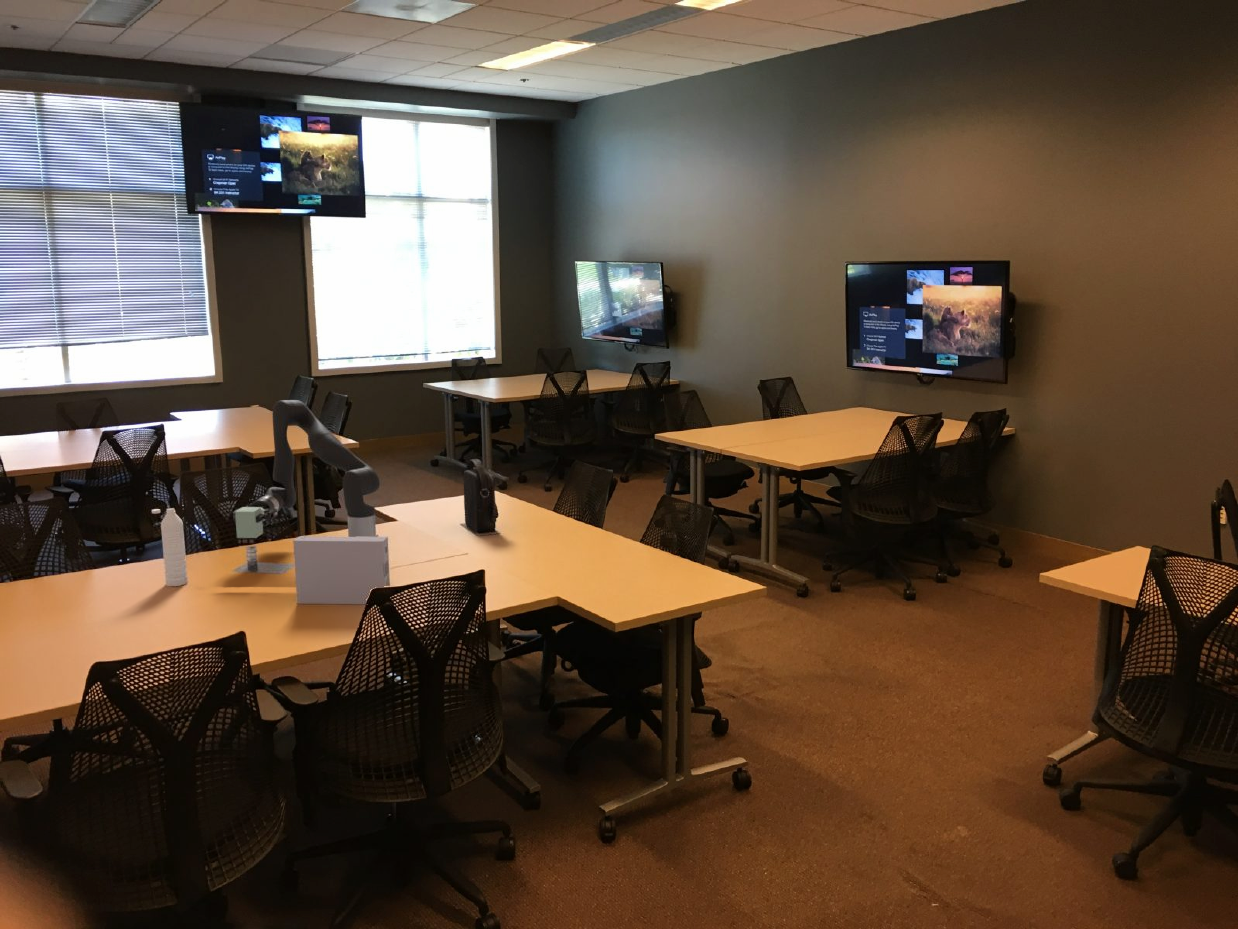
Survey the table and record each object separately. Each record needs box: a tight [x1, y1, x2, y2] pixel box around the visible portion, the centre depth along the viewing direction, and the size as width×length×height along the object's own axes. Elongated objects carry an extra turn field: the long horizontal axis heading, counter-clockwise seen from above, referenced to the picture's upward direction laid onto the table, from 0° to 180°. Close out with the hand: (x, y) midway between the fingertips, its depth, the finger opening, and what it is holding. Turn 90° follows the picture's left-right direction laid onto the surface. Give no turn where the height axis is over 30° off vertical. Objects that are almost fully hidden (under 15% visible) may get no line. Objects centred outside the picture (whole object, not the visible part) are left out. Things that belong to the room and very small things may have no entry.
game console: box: [292, 535, 391, 605], centre depth 301 cm, size 6×27×20 cm, turn 88°
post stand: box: [231, 545, 295, 575], centre depth 332 cm, size 18×11×8 cm, turn 80°
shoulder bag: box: [459, 458, 501, 537], centre depth 389 cm, size 23×9×28 cm, turn 28°
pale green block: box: [234, 506, 264, 539], centre depth 330 cm, size 6×6×9 cm
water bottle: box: [151, 507, 189, 587], centre depth 317 cm, size 9×6×25 cm
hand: (246, 519), depth 328 cm, fingers closed on pale green block, 6 cm apart
